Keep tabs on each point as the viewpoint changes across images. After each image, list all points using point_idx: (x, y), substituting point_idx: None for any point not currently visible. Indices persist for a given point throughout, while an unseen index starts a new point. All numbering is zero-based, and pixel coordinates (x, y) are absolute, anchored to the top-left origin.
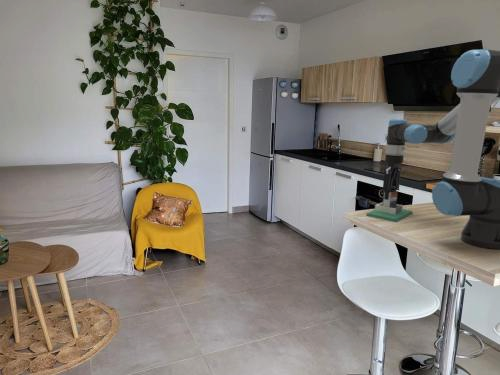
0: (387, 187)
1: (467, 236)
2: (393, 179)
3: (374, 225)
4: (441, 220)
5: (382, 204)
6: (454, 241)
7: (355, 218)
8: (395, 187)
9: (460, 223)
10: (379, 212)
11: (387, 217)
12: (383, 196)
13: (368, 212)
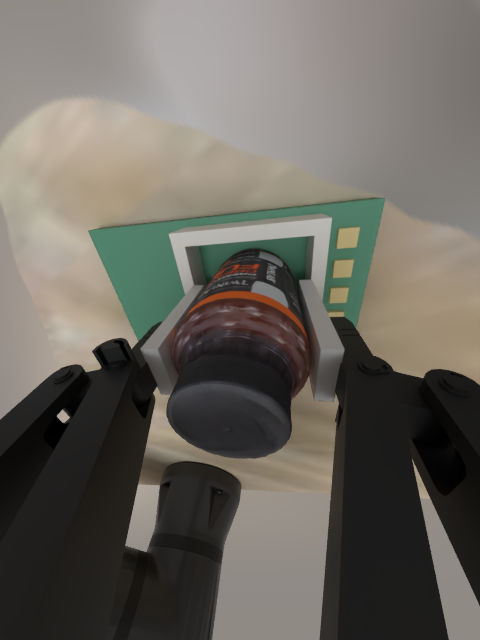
0: (51, 444)
1: (161, 481)
2: (331, 595)
3: (46, 323)
4: (309, 429)
5: (224, 264)
6: (154, 456)
7: (10, 217)
8: (233, 453)
9: (314, 457)
10: (169, 272)
11: (135, 333)
12: (201, 295)
13: (108, 229)
